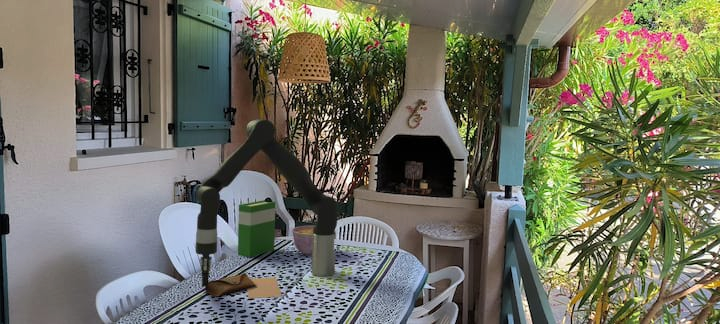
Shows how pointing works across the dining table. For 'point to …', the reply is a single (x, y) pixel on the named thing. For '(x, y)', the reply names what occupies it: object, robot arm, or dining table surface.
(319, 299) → the dining table surface
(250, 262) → the dining table surface
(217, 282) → the sunglasses case
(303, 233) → the bowl of food
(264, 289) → the mat
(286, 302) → the dining table surface
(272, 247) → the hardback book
